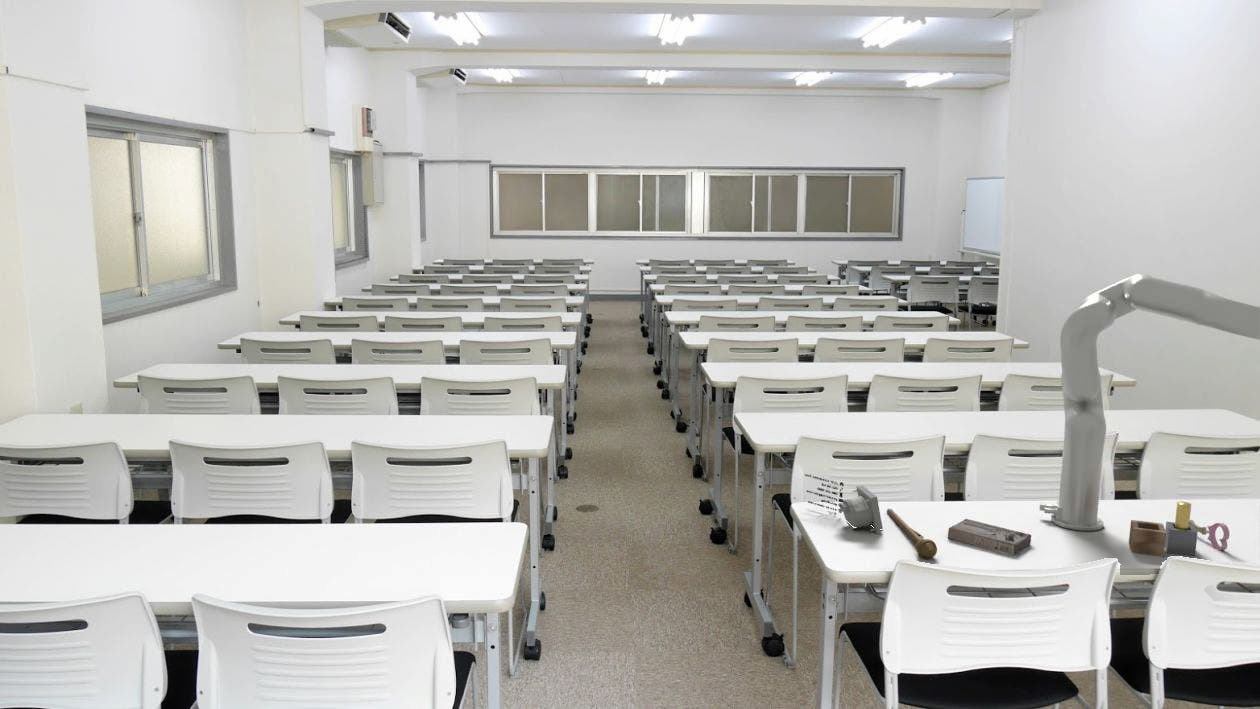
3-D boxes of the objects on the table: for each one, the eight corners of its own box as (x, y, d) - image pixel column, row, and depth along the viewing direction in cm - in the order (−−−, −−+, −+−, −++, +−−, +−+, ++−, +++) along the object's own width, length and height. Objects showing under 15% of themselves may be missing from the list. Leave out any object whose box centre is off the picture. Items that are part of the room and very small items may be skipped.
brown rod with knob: (879, 518, 266) (897, 520, 266) (919, 562, 231) (939, 563, 231) (882, 502, 265) (899, 503, 265) (922, 542, 231) (942, 544, 231)
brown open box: (1131, 552, 238) (1133, 528, 237) (1128, 542, 244) (1131, 519, 243) (1163, 556, 235) (1166, 532, 234) (1160, 546, 242) (1162, 523, 241)
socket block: (1166, 552, 238) (1169, 529, 237) (1163, 544, 243) (1166, 521, 242) (1195, 556, 236) (1197, 532, 235) (1191, 547, 241) (1193, 524, 240)
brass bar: (1173, 551, 239) (1178, 504, 237) (1171, 547, 241) (1176, 500, 239) (1187, 553, 237) (1192, 506, 235) (1185, 549, 240) (1190, 502, 238)
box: (964, 529, 255) (965, 517, 254) (1031, 545, 243) (1032, 533, 243) (946, 539, 247) (946, 527, 246) (1014, 557, 235) (1015, 544, 235)
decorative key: (1177, 536, 257) (1229, 551, 238) (1172, 536, 257) (1225, 552, 238) (1176, 511, 257) (1229, 524, 238) (1172, 511, 257) (1224, 524, 237)
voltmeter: (894, 528, 254) (896, 492, 252) (869, 539, 246) (871, 501, 244) (810, 504, 273) (811, 470, 271) (785, 513, 265) (786, 478, 263)
